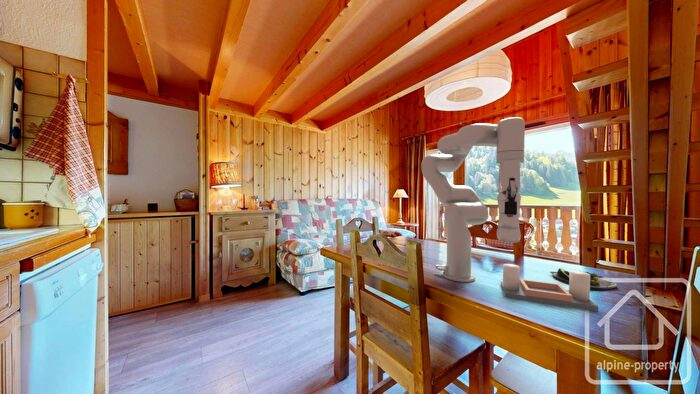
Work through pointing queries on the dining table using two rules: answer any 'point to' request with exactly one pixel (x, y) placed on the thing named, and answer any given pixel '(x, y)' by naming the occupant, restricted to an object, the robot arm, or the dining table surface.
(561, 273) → the salad plate
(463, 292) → the dining table surface
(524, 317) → the dining table surface
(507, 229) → the plastic bottle
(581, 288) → the twin post tray
